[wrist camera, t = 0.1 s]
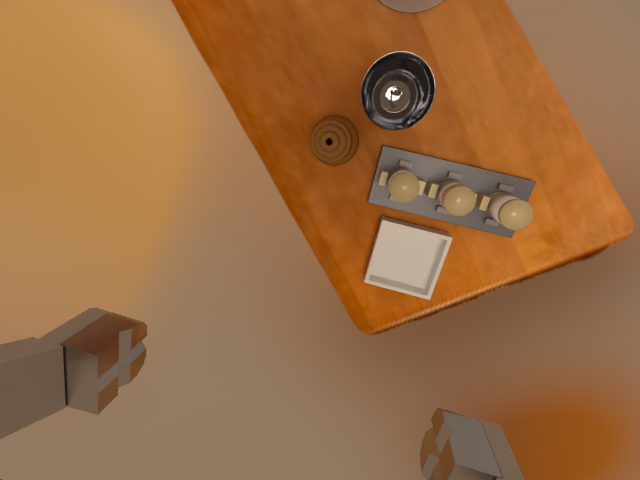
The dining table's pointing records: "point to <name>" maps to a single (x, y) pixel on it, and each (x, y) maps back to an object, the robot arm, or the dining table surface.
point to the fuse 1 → (403, 185)
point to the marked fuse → (455, 197)
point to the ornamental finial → (334, 140)
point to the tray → (407, 257)
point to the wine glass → (397, 91)
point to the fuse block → (429, 177)
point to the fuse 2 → (509, 210)
